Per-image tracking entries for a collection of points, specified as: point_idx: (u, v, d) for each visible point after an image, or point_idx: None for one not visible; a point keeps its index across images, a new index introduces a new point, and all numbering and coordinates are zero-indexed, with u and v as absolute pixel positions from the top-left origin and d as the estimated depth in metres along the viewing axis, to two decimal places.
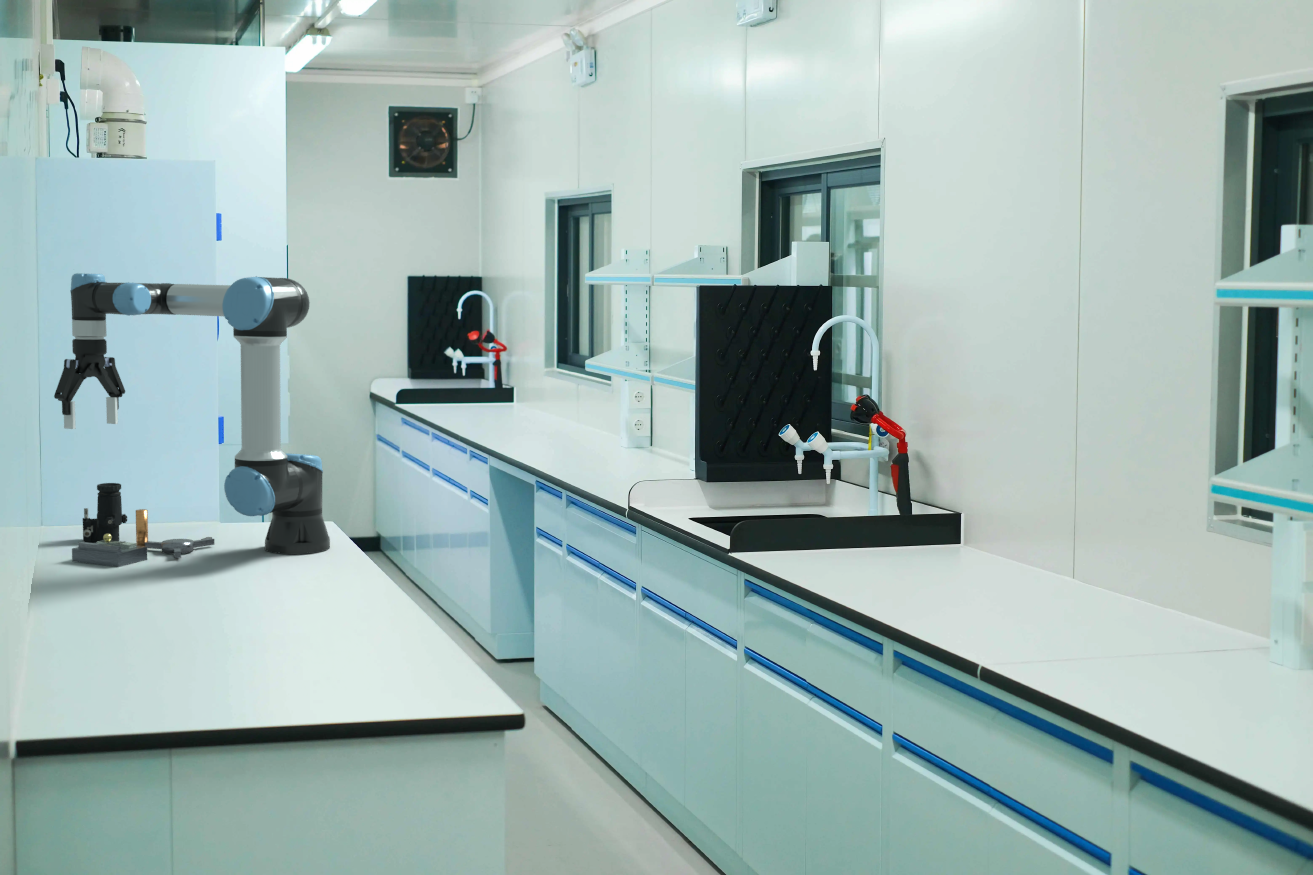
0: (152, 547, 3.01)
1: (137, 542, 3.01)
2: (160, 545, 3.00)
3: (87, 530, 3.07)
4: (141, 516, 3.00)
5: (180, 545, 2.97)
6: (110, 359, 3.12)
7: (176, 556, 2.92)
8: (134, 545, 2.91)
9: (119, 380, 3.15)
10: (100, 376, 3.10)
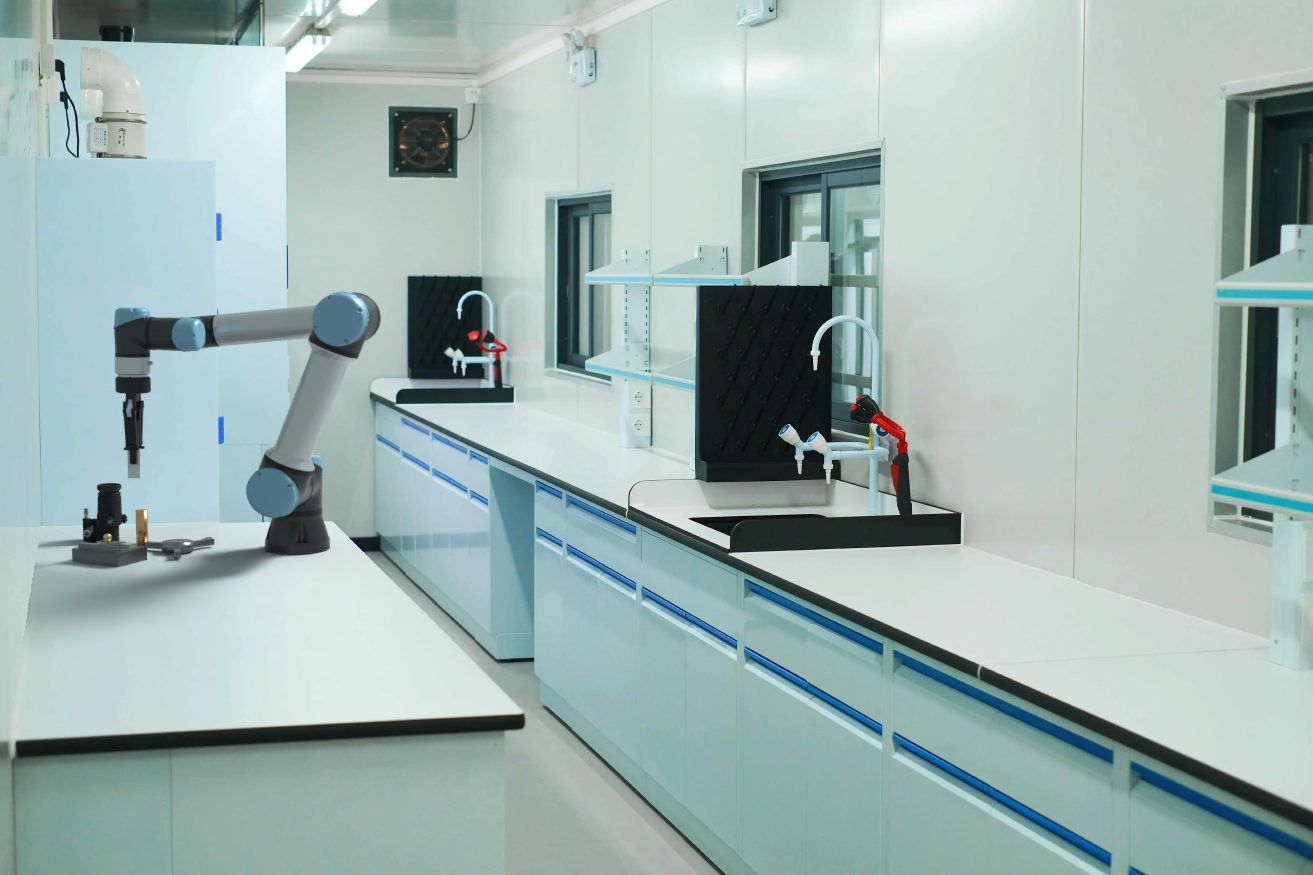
0: (152, 547, 3.01)
1: (137, 542, 3.01)
2: (160, 545, 3.00)
3: (87, 530, 3.07)
4: (141, 516, 3.00)
5: (180, 545, 2.97)
6: None
7: (176, 556, 2.92)
8: (134, 545, 2.91)
9: (125, 433, 2.89)
10: None
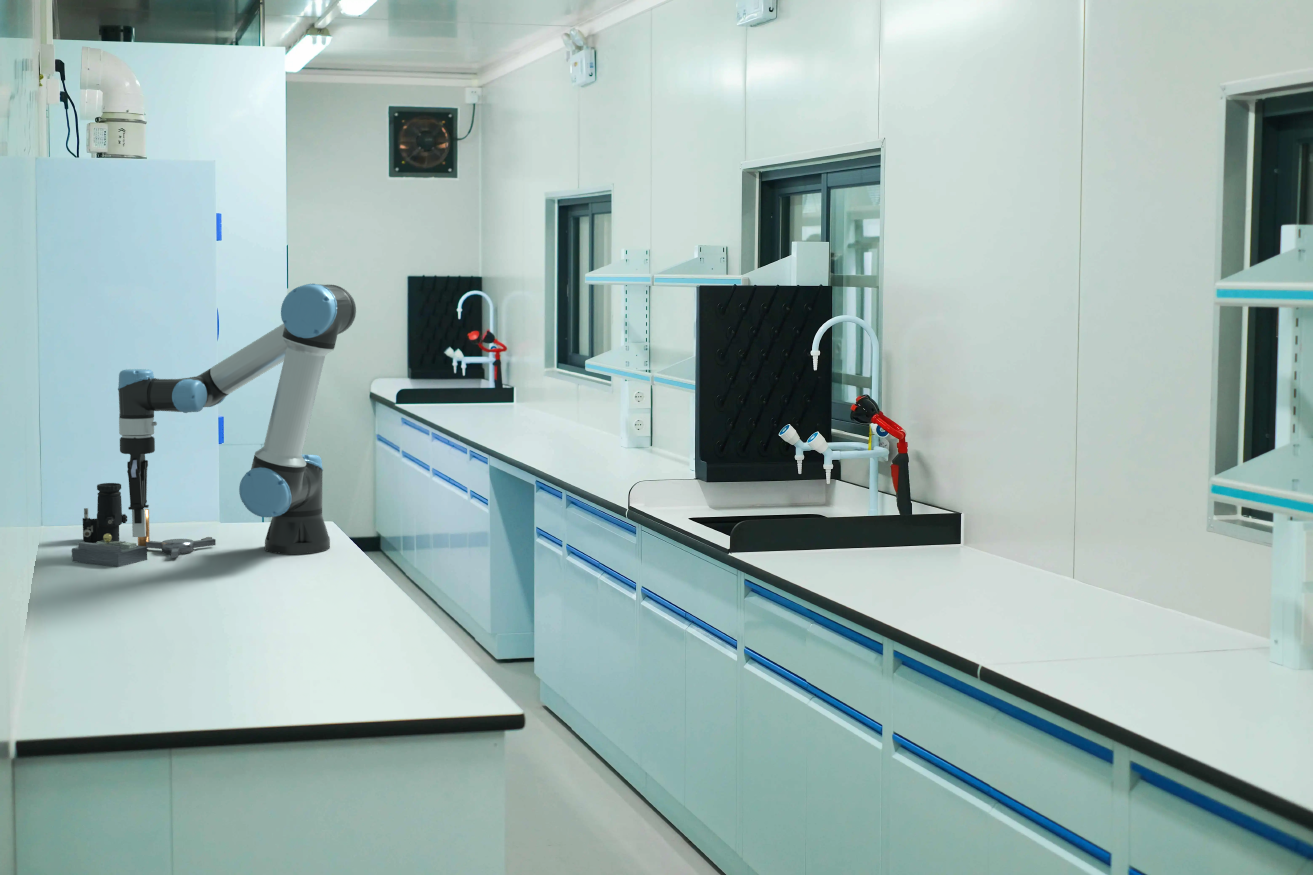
0: (153, 547, 3.01)
1: (138, 541, 3.01)
2: (160, 545, 3.01)
3: (87, 530, 3.07)
4: None
5: (179, 545, 2.97)
6: None
7: (173, 556, 2.92)
8: (134, 545, 2.91)
9: (130, 493, 2.93)
10: None
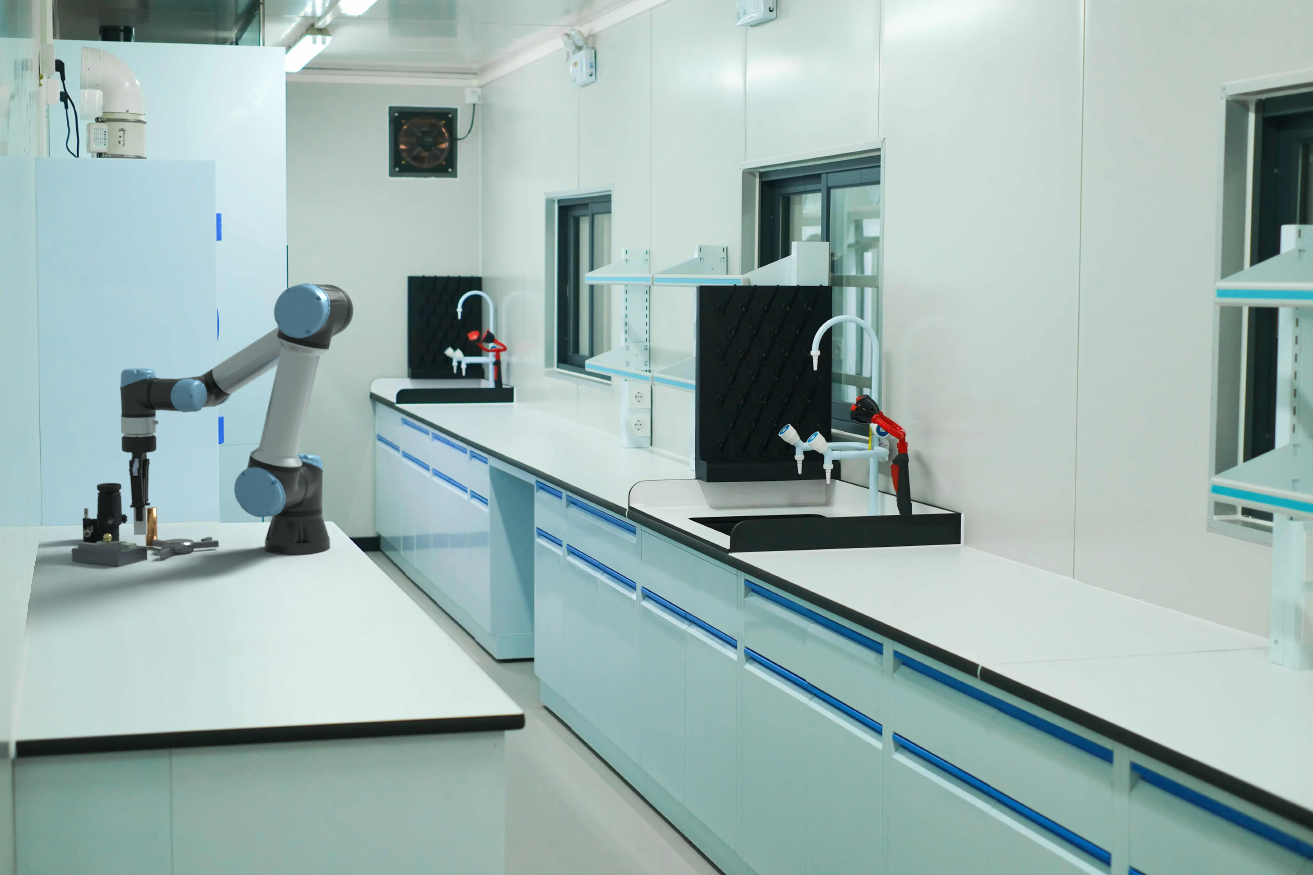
0: (157, 545, 3.03)
1: (146, 539, 3.04)
2: None
3: (87, 530, 3.07)
4: (148, 513, 3.03)
5: (174, 545, 2.97)
6: None
7: (161, 556, 2.91)
8: (134, 545, 2.91)
9: None
10: None
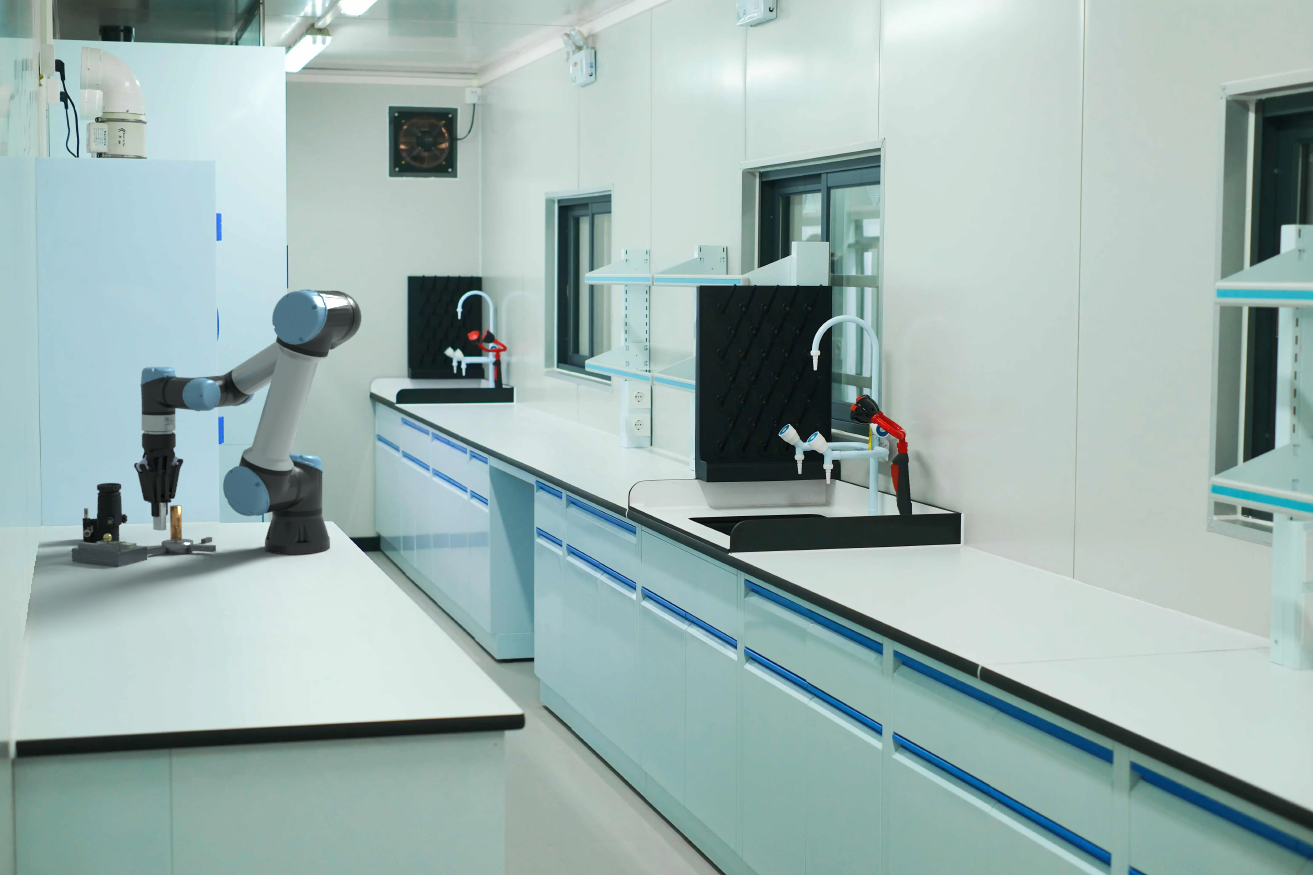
0: None
1: None
2: None
3: (87, 530, 3.07)
4: (170, 511, 3.07)
5: (165, 545, 2.97)
6: None
7: None
8: (134, 545, 2.91)
9: None
10: None
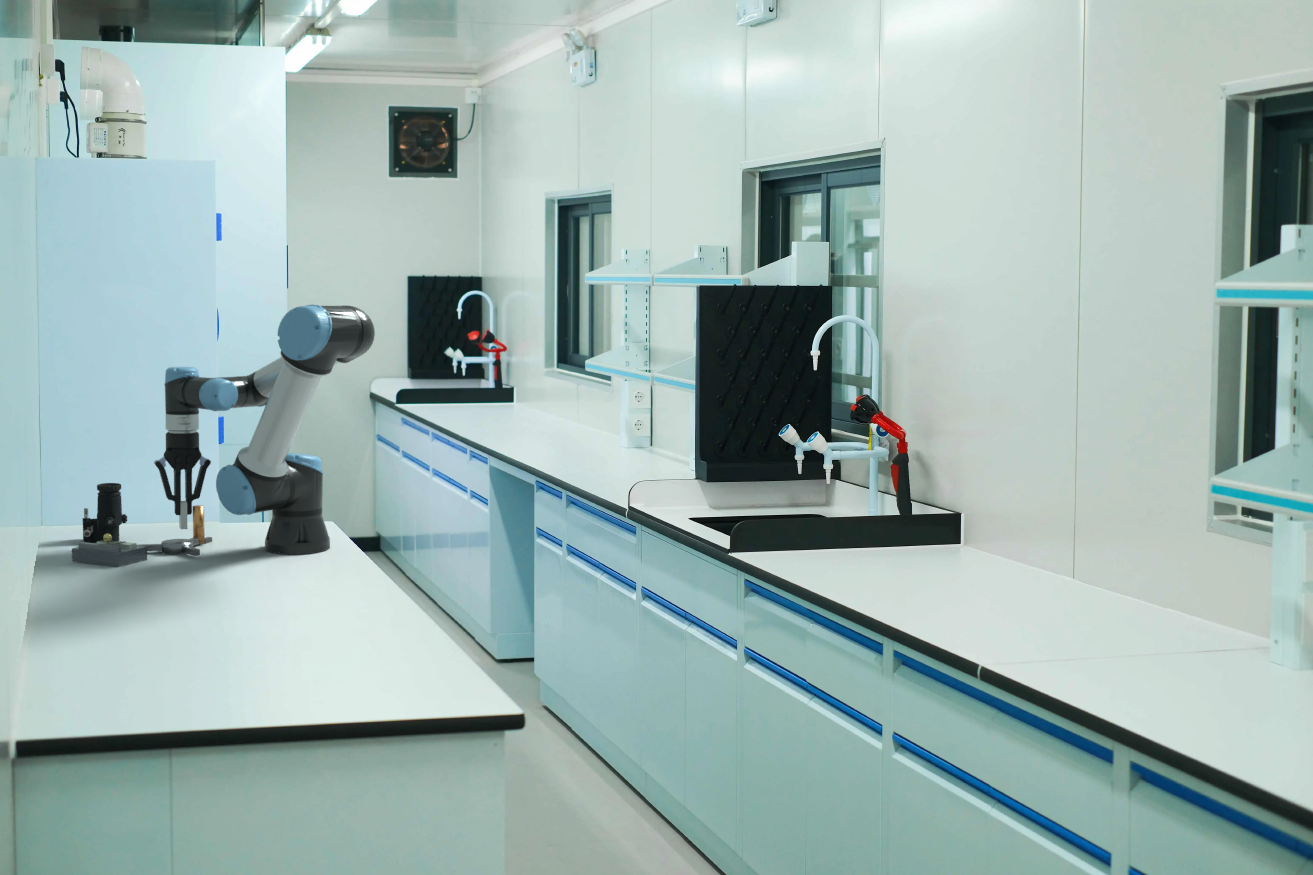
0: None
1: None
2: None
3: (87, 530, 3.07)
4: None
5: None
6: None
7: None
8: (134, 545, 2.91)
9: None
10: None
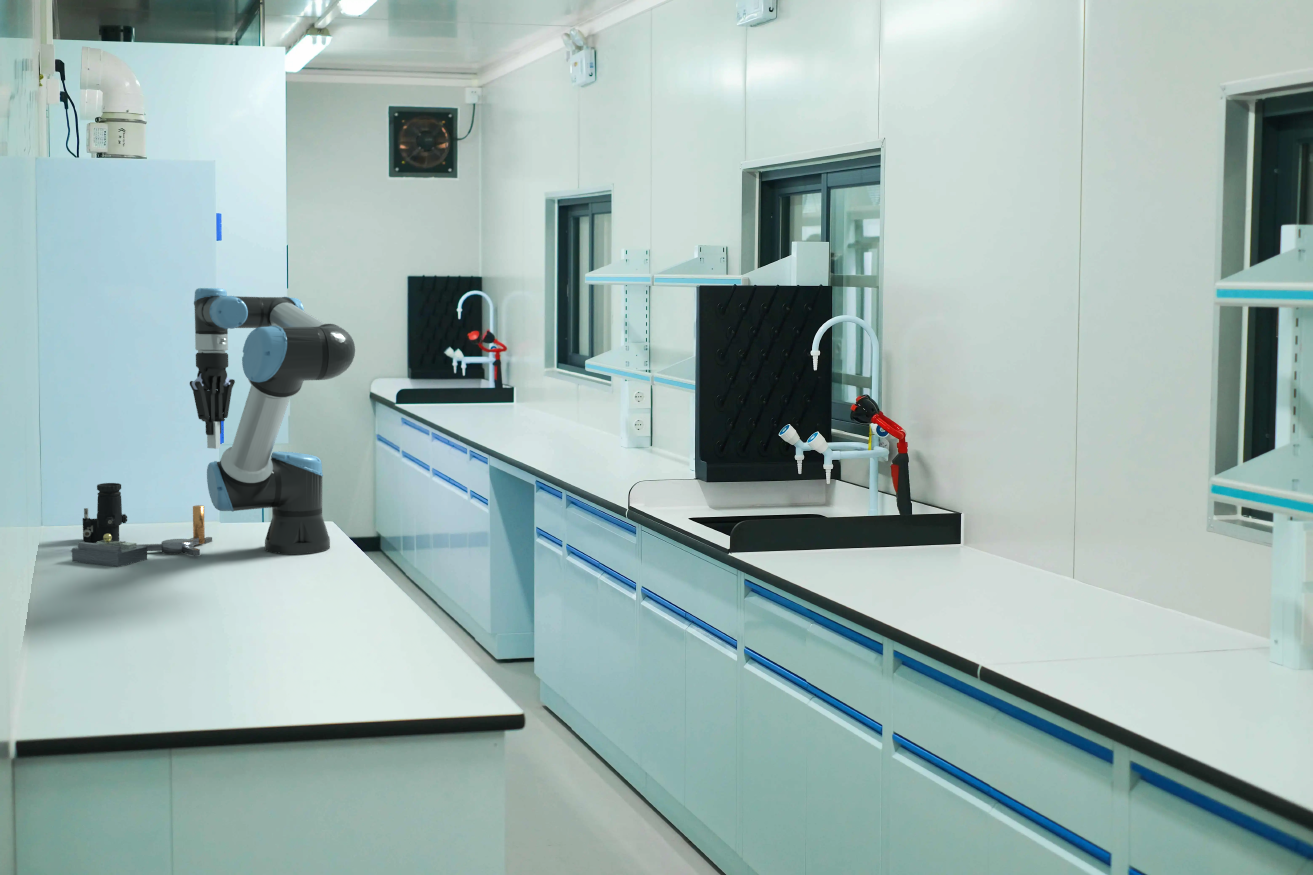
0: None
1: None
2: None
3: (87, 530, 3.07)
4: None
5: None
6: None
7: None
8: (134, 545, 2.91)
9: None
10: None
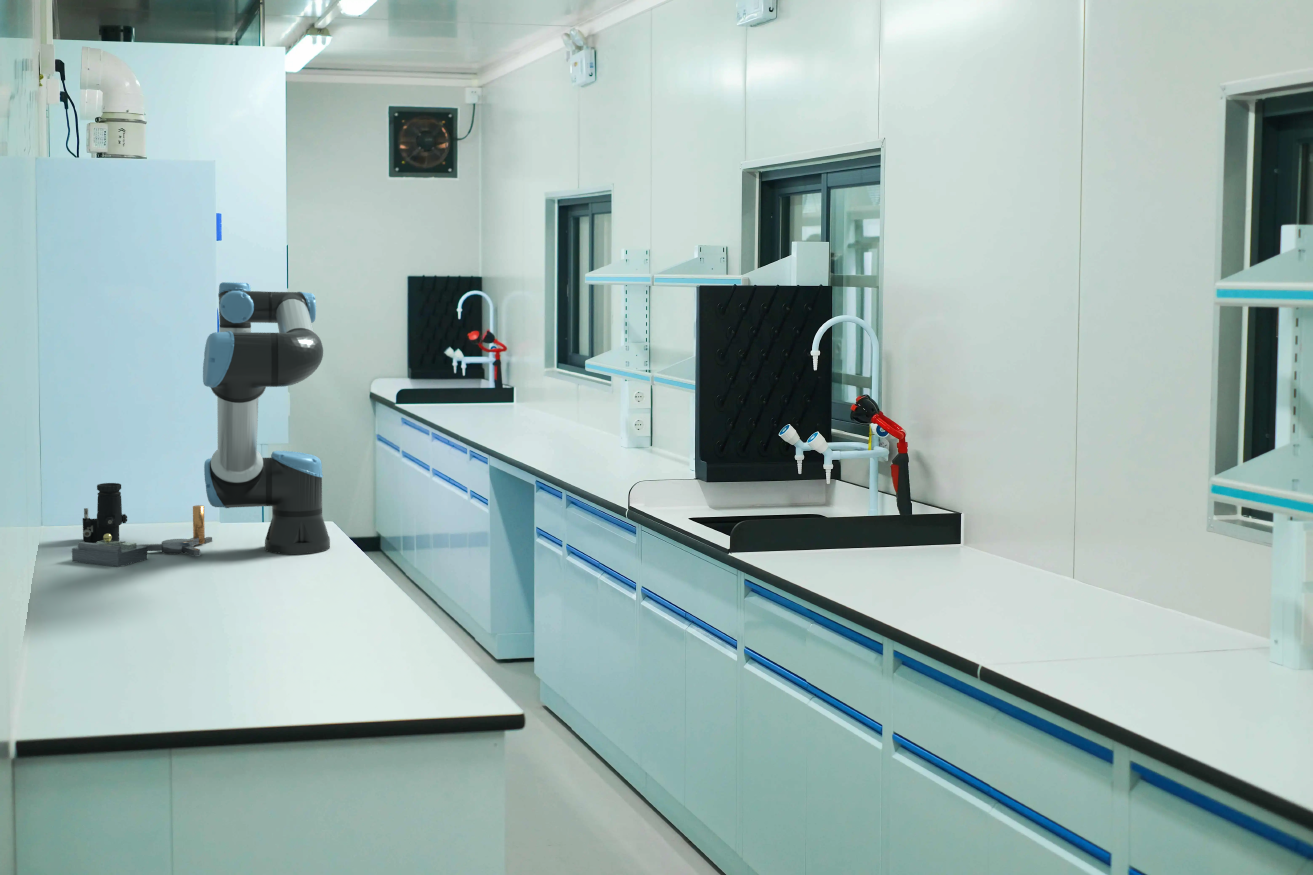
0: None
1: None
2: None
3: (87, 530, 3.07)
4: None
5: None
6: None
7: None
8: (134, 545, 2.91)
9: None
10: None
